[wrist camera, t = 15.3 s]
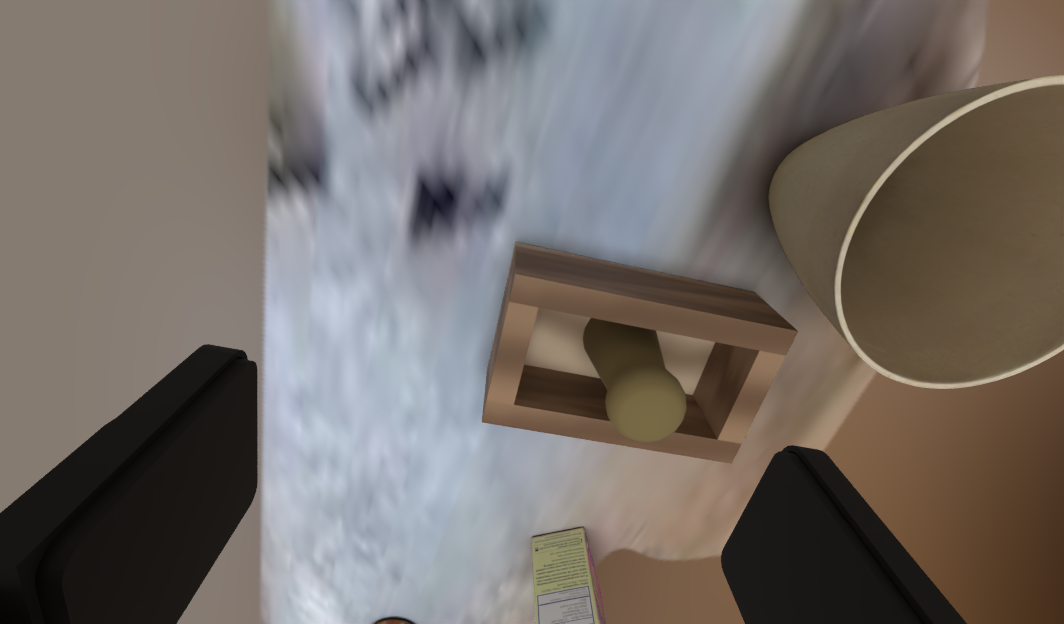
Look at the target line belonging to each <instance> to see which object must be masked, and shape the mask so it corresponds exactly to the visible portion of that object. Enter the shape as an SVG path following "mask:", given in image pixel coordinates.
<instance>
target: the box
mask: <svg viewBox="0 0 1064 624" xmlns="http://www.w3.org/2000/svg"><path fill="white" fill-rule="evenodd" d="M532 555H533V579H534V603H535V624H606V621H605V615H604V609H603V604H602V598H601V592H600V588H599V584H598V580H597V576H596V573H595V569H594V565H593V561H592V557H591V553H590V549H589V546H588V542H587V538H586V534H585V530H584V528H577V529H571V530H566V531H561V532H556V533H551V534H546V535H542V536H537V537H532Z"/></svg>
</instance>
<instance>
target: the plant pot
mask: <svg viewBox="0 0 1064 624" xmlns="http://www.w3.org/2000/svg"><path fill="white" fill-rule="evenodd" d="M769 208H770V212H771V217H772V220H773V224H774V227H775V230H776V233H777V236H778V238H779V241H780V243H781V246H782V248H783V250H784V252H785V254H786V256H787V258H788V260H789V262H790V264H791V266H792V268H793V269H794V271H795V273H796V275H797V276H798V278H799V280H800V281H801V283H802V284H803V286H804V287H805V289H806V290H807V292H808V293H809V295H810V296H811V298H812V299H813V300H814V302H815V303H816V304H817V306H818V307H819V309H820V310H821V311H822V312H823V314H824V315H825V316H826V317H827V318H828V320H829V321H830V322H831V323H832V325H833V326H834V327H835V328H836V330H837V331H838V332H839V333H840V334H841V336H842V337H843V338H844V339H845V340H846V342H847V343H848V344H849V345H850V346H851V348H852V349H853V350H854V351H855V352H856V354H857V355H858V356H859V357H860V358H861V359H862V360H863V361H864V362H865V363H867V364H868V365H869V366H870V367H872V368H873V369H874V370H876V371H877V372H879V373H881V374H882V375H884V376H886V377H888V378H891V379H893V380H896V381H898V382H902V383H905V384H908V385H913V386H918V387H924V388H937V389H951V388H962V387H970V386H975V385H980V384H984V383H988V382H993V381H997V380H1000V379H1002V378H1006V377H1009V376H1012V375H1015V374H1017V373H1020V372H1022V371H1024V370H1027V369H1029V368H1031V367H1033V366H1035V365H1037V364H1039V363H1041V362H1043V361H1045V360H1047V359H1049V358H1050V357H1052V356H1054V355H1056V354H1057V353H1059V352H1060V351H1062V350H1064V75H1057V76H1048V77H1041V78H1034V79H1028V80H1021V81H1014V82H1008V83H1001V84H996V85H989V86H983V87H977V88H971V89H966V90H961V91H956V92H951V93H945V94H941V95H936V96H932V97H927V98H923V99H919V100H915V101H911V102H908V103H904V104H900V105H897V106H893V107H890V108H886V109H883V110H880V111H877V112H874V113H871V114H868V115H865V116H862V117H859V118H856V119H854V120H851V121H849V122H846V123H844V124H841V125H839V126H837V127H834V128H832V129H830V130H828V131H826V132H824V133H822V134H820V135H818V136H816V137H814V138H812V139H810V140H808V141H806V142H805V143H803V144H801V145H800V146H798V147H797V148H795V149H794V150H793V151H792V152H791V153H789V154H788V155H787V156H786V157H785V159H784V160H783V161H782V162H781V164H780V165H779V167H778V168H777V170H776V172H775V174H774V176H773V178H772V181H771V184H770V189H769Z"/></svg>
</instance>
